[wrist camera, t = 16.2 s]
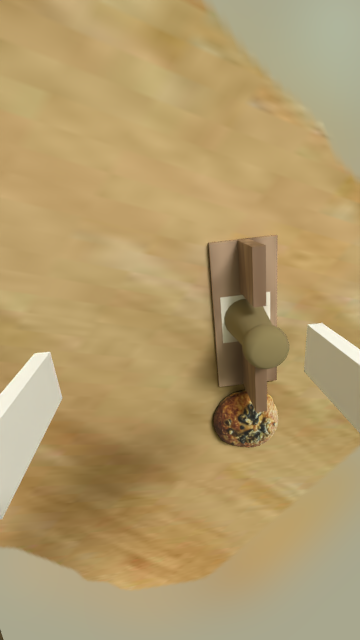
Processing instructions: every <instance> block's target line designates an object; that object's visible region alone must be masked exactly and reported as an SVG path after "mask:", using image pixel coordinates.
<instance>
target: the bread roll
mask: <svg viewBox="0 0 360 640" xmlns="http://www.w3.org/2000/svg"><path fill="white" fill-rule="evenodd" d="M277 425H278V411H277V408H276V406H275V404H274V403H273V398H272V397H271V396H270V395H268V394H267V411H265V412H257V413H256V411H255V409H254V407H253V405H252V402H251V400H250V398H249V396H248V393H247V391H246V390H243V391H240V392H235V393H233V394H230V395H229V396H227V397H226V398H225V399H224V400H222V401H221V402H220V405H219V406H218V408H217V410H216V412H215V415H214V428H215V431H216V433H217V434H218V436H219V437H220V439H221V440H222V441H224V442H226V443H228V444H231V445H235V446H240V447H248V448H249V447H255V446H260V445H261V444H263V443H265V442H267V441H268V440H269V439H270V438H271V437H272V435H273V434H274V432H275V431H276V428H277Z"/></svg>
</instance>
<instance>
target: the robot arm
mask: <svg viewBox="0 0 360 640" xmlns="http://www.w3.org/2000/svg"><path fill="white" fill-rule="evenodd" d="M304 372H305V373H306V374H307V375H308V376H309V377H310V378H311V379H312V381H313V382H314V383H315V384H316V385H317V386H318V387H319V388H320V390H321V391H322V392H323V393H324V394H325V395H326V396H327V397H328V398H329V400H330V401H331V402H332V403H333V404H334V405H335V406H336V407H337V408H338V410H339V411H340V412H341V413H342V414H343V415H344V416H345V417H346V418H347V420H348V421H349V422H350V423H351V424H352V425H353V426H354V427H355V428H356V430H357V431H358V432H359V433H360V349H358V348H357V347H355V346H354V345H353V344H351V343H350V342H348V341H347V340H345V339H344V338H343V337H341V336H340V335H338V334H337V333H335V332H334V331H333V330H331V329H330V328H328V327H327V326H325V325H324V324H323V323H319V324H309V325H307V339H306V353H305V367H304ZM61 400H62V395H61V391H60V388H59V384H58V380H57V376H56V372H55V369H54V365H53V361H52V357H51V353H50V352H44V353H35V354H34V355H33V356H32V357H31V358H30V359H29V361H28V362H27V363H26V364H25V365H24V367H23V368H22V369H21V370H20V371H19V373H18V374H17V375H16V376H15V377H14V378H13V380H12V381H11V382H10V383H9V384H8V386H7V387H6V388H5V389H4V390H3V392H2V393H1V394H0V519H2V518H3V516H4V514H5V512H6V510H7V508H8V506H9V504H10V502H11V500H12V498H13V496H14V494H15V492H16V490H17V488H18V486H19V484H20V482H21V480H22V478H23V476H24V474H25V472H26V470H27V468H28V466H29V464H30V462H31V460H32V458H33V456H34V454H35V452H36V450H37V448H38V446H39V444H40V442H41V440H42V438H43V436H44V434H45V432H46V430H47V428H48V426H49V424H50V422H51V420H52V418H53V416H54V414H55V412H56V410H57V408H58V406H59V404H60V402H61ZM0 640H3V637H2V634H1V631H0Z"/></svg>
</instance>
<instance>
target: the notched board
mask: <svg viewBox="0 0 360 640" xmlns="http://www.w3.org/2000/svg"><path fill="white" fill-rule="evenodd" d="M208 247H209V260H210V274H211V287H212V301H213V314H214V328H215V341H216V355H217V368H218V382H219V387H223V386H231V385H239V384H244V387H245V389H246V391H247V393H248V396H249V398H250V400H251V402H252V405H253V407H254V409H255V411H256V413H257V412H265V411H267V381H272V380H277V367H274V368H271V369H261V368H257V367H255V366H253V365H251V364H250V363H249V362H248V361H247V360H246V358H245V356H244V353H243V348H242V345H241V344H240V343H239V342H238V341H237V340H236V339H235V338H234V337H233V336H232V335H231V333H230V332H229V331H228V330H227V329H226V326H225V323H224V317H225V313H226V311H227V309H228V308H229V306H230V305H232V304H233V303H234V302H236V301H238V300H240V299H246V300H247V301H248V302H249V303H250V304H251V305H252V306H253V307H262V306H263V307H264V309H265V311H266V313H267V315H268V317H269V319H270V321H271V323H272V325H274V326H276V327H277V235H271V236H263V237H254V238H246V239H237V240H229V241H220V242H212V243H208Z"/></svg>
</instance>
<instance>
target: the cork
mask: <svg viewBox="0 0 360 640" xmlns="http://www.w3.org/2000/svg"><path fill="white" fill-rule="evenodd" d="M224 323H225V326H226V329H227V330H228V331H229V332H230V333H231V335H232V336H233V337H234V338H235V339H236V340H237V341H238V342H239V343H240V344H241V345H242V348H243V353H244V356H245V358H246V360H247V361H248V362H249V363H250V364H251V365H253V366H255V367H257V368H261V369H271V368H274V367H277V366H278V365H280V364H281V363H282V362H283V361H284V360H285V359H286V357H287V355H288V352H289V342H288V339H287V336H286V335H285V333H284V332H283V331H282V330H281V329H280V328H278V327H276V326H274V325H272V323H271V321H270V319H269V317H268V315H267V313H266V311H265V309H264V307H263V306H262V307H253V306H252V305H251V304H250V303H249V302H248V301H247V300H246V299H240V300H238V301H236V302H234V303H233V304H232V305H230V306H229V308H228V309H227V311H226V313H225V317H224Z"/></svg>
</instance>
